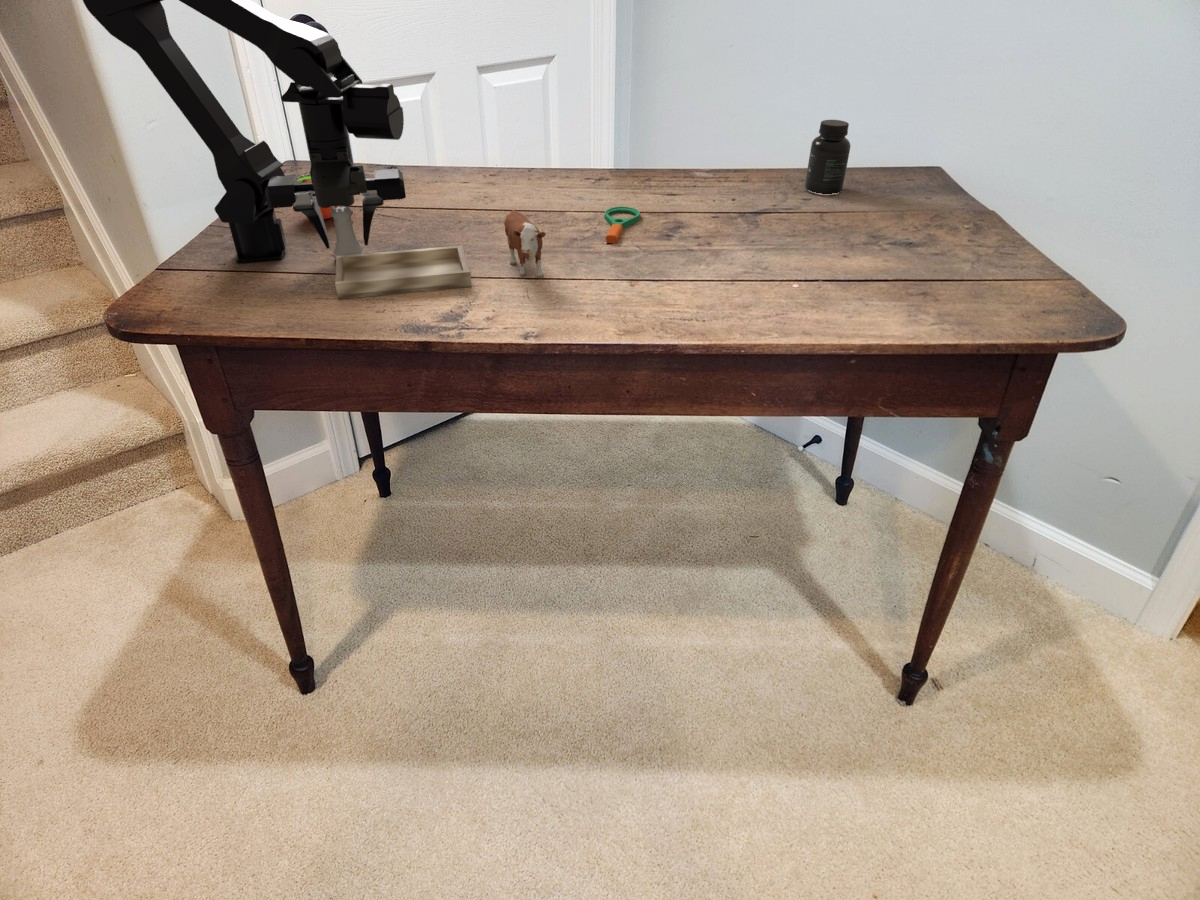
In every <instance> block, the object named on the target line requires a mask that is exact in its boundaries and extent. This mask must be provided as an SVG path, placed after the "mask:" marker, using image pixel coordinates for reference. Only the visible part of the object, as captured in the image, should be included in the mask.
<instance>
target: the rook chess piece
mask: <svg viewBox="0 0 1200 900" xmlns="http://www.w3.org/2000/svg"><path fill="white" fill-rule="evenodd" d="M331 209H332V210H331V212H330V215H331V216H332V217H331V218H333V220H334V221H333V225H334V227H335V228H334V229H335V234H336V240H335V244H334V245H335V246H334V247H333V254H335V255H334V257H333V258H334V260H335V261H336V256H342V255H354V254H365V253H364V252H363V251H364V247H363V245H361V243H360V240H358V238H357V236H356V234H355V231H354V226H353V224H354V221H353V219H352V215H353V214H354V211H353V210H352V209H351V206H347V207H344V206H339V207H337V206H331Z"/></svg>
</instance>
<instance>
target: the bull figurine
mask: <svg viewBox="0 0 1200 900" xmlns="http://www.w3.org/2000/svg"><path fill="white" fill-rule="evenodd" d="M504 219H505V220H504V222H503V225H504V232H505V236H506V237H507V240H506V241H507V245H508V249H509V252H510V257H509V264H510V265H512V266H514V265H515V266H516V265H517V263H518V262H517V258H516V255H515V250H516V252H517V256H518V259H519V264H520V268H519V276H521V277H525V276H527V271H526V260H528V262H530V263H532V262H533V261H535V266H536V277H537V278H539V279H542V278H545V276H544V273H543V269H542V249H543V244H544V243H543V238H544V237H545V236H546V235H547V233H546V232H545V231H540V229H539V228H538V227H537V226H536V225H534V223H532V222H531V220H530V219H529V218H528V217H526V216H525V214H523V213H521V212H519V211H517V210H516V209H513V210H511V212H510V213H508V214H507V215H506V217H505V218H504ZM534 259H535V260H534Z"/></svg>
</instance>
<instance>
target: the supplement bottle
mask: <svg viewBox="0 0 1200 900" xmlns="http://www.w3.org/2000/svg"><path fill="white" fill-rule="evenodd" d="M849 125H850V124H849V123H848V122H847V121H843V120H841V119H824V120H822V121H820V126H819V130H818V134H819V135H817V137H814V139H813V140H812V141H811V146H810V150H809V151H810V152H809V158H808V163H807V168H806V169H807V170H806V176H805V183H804V189H805V188H806V189H807V190H810V191H812V192H816V193H822V194H832V193H838V192H840V191H841V192H842V191H843V187H844V182H845V179H846V178H845V177H846V172H847V167H848V162H849V157H850V151H851V143H850V140H849V139H848V138H847V136H848V133H849V132H848V130H849ZM806 189H805V190H806Z"/></svg>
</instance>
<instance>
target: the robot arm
mask: <svg viewBox="0 0 1200 900" xmlns="http://www.w3.org/2000/svg"><path fill="white" fill-rule="evenodd" d="M163 1H164V0H82V3H83V5H84V7H86V10H87V11H88V12H89V13H90V15H91V16H92V17H93V18H94V19H95V20H96V21H97V22H98V23H99V24H100V25H101V27H103V28H104V29H105V31H107V32H108V33H109V35H111V36H112V37H114V38H115V39H116V40H118V41H119V42H121V43H122V44H124V45H126V46H127V47H128V48H130V49H131V50H133V51H134V52H136V54H137V55H138V56H139V57H140V58H141V59H142V61H143V62H144V63H145V65H146V66H147V68H148V69H149V70H150V71H151V73H152V75H153V76H154V77H155V79H156V80H157V81H158V83H159V84H160V86H161V87H162V88H163V89H164V91H165V92H166V93H167V95H168V96H169V97H170V99H171V100H172V102H174V104H175V105H176V107H177V108H178V109H179V111H180V112H181V114H182V115H183V117H184V118H185V119H186V120H187V122H188V123H189V125H191V127H192V128H193V129H194V131H195V133H197V135H198V136H199V137H200V139H201V140H202V141H203V143H204V145H206V147H207V148H208V149H209V151H210V153H211V154H212V157H213V161H214V165H215V169H216V170H215V171H216V174H217V177H218V179H219V181H220V183H221V185H222V187H223V189H224V190H225V193H224V194H223V196H222V197H221V198H220V199H219V201H218V203H217V204H216V205H215V207H214V212H215V213H216V214H217V216H218V218H219V219H220V221H221V223H226V224H228V226H229V230H230V233H231V237H232V241H233V245H234V248H235V251H236V252H235V253H236V255H235V263H248V262H249V263H250V262H261V261H272V260H273V261H274V260H275V261H276V260H281V259H283V256H284V251H286V249H287V239H286V237H285V231H284V228H283V222H282V219H280V218H277V216H276V211H275V209H279V208H280V209H281V208H283V209H284V208H291V207H292V209H293V211H294V212H295V213H302V214H303V215H304V216H305V217H306V218H307V219H308V220H309V222H310V223H311V224H312V226H313V227H314V228H315V230H316V232H317V234H318V235H319V237H320V239H321V241H322V243H323V244H324V246H325V248H326V249H330V248H331V245H330V241H329V239H330V238H329V234H328V231H327V227H326V223H325V221H324V220H325V219H323V217H322V213H321V210H320V207H321V208H329V207H330V206H339V207H340V206H343V207H347V206H349V207H351V206H353V205H354V203H355V196H361V195H362V197H361V199H362V200H361V201H362V202H361V203H362V234H363V236H362V237H363V242H364V246H368V245H369V241H370V240H369V239H370V234H371V227H372V222H373V218H374V215H375V212H376V209H377V208H378V207H382V206H384V204H385V202H384V201H395V200H404V199H405V198H406V187H405V182H404V176H403V171H401V170H400V169H399V168H390V169H388V168H387V169H374V177H368V178H366V175H365V174H366V173H365V170H364V169H365V168H364V166H363V165H354V164H355V163H354V157H353V153H352V151H353V150H352V145H351V140H350V139H351V138H350V135H349V134H352V135H353V136H354V137H355V138H356V139H366V140H367V139H370V140H371V139H373V140H392V141H393V140H395V141H397V140H398V141H399V140H400V139H401V138H402V136H403V131H404V125H405V123H404V121H405V120H404V110H403V107H402V106H401V103H400V100H399V98H398V96H397V94H395V91H394V90H395V89H394V85H393V84H392V83H380V84H363V81H362V79H361V77H359V75H358V74H357V73H356V72H355V70H354V69H353V67H352V66H351V65H350V64H349V63H348V61H347V60H346V59H345V58H344V57H343V56H342V52H341V50H340V46H339V43H338V42H337V40H336V39H335V38H334V37H333V36H332V35H330V34H329V33H328V32H325V31H323V30H320V29H318V28H315V27H313V26H310V25H308V24H305V23H302V22H298V21H294V20H290V19H287V18H283V17H281V16H278V15H276V14H274V13H272V12H270V11H269V10H267V9H265V8H264V7H262V6H261V5H259V4H257V3H256V2H254V1H252V0H178V1H179V2H181V3H183V4H184V5H185V6H187V7H188V8H191V9H193V10H194V11H196V12H197V13H200V14H202V15H203V16H205V18H208V19H210V20H212V21H213V22H215V23H216V24H218V25H220V26H222V27H223V28H225V29H227V30H228V31H230V32H232V33H233V34H235V35H236V36H239V37H240V38H242V39H244V40H245V41H247V42H249V43H250V44H252V45H254V46H255V47H257V48H258V49H259V50H260V51H262V52H263V53H264V54H265V55H266V57H267V58H268V59H269V61H270V62H271V63H272V65H273V66H275V68H277V69H278V70H279V71H281V73H283V74H284V75H286V76H287V77H288V78H289V79H291V80H292V82H290V83H289V86H288V88H287V90H286V91H285V92H284V93H283V94H282V95H281V97H280V98H281V101H282V102H284V103H298V106H299V112H300V116H301V117H300V118H301V121H302V129H303V132H304V138H305V143H306V147H307V152H308V158H309V161H310V169H309V175H310V176H311V180H312V182H302V181H301V182H302V183H301V182H297V180H298V179H297V176H296V174H295V175H294V174H293V175H285V173H284V171H283V169H282V167H283V166H284V164H283V163H282V161H280V160H278V158H276V156H275V155H274V153H273V151H272V149H271V148H270V145H269V144H268V143H267V142H266V141H265V140H261V141H259V142H257V143H254V142H253V141H251V140H250V139H248V138H247V137H246V136H245V135H243V134H242V133H241V131H240V130H239V129H238V127H237V125H236V124H235V122H233V119H232V118H231V117H230V116H229V115H228V113H227V111H226V110H225V109H224V108H223V106H222V105H221V103H220V101H218V99H217V97H216V96H215V95H214V94H213V92H212V90H211V88H209V86H208V85H207V84H206V82H205V81H204V80H203V78H202V77H201V75H200V73H199V72H198V71H197V70H196V69H195V67H194V65H193V64H192V63H191V61H190V60H189V58H188V57H187V56H186V55H185V53H184V52H183V50H182V49H181V48H180V46H179V45H178V44H177V42H176V40H175V39H174V38H173V36H172V34H171V32H170V28H169V23H168V19H167V15H166V11H165V8H164V6H163V5H162V3H161V2H163ZM332 78H335V79H334V80H333V79H332Z"/></svg>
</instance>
